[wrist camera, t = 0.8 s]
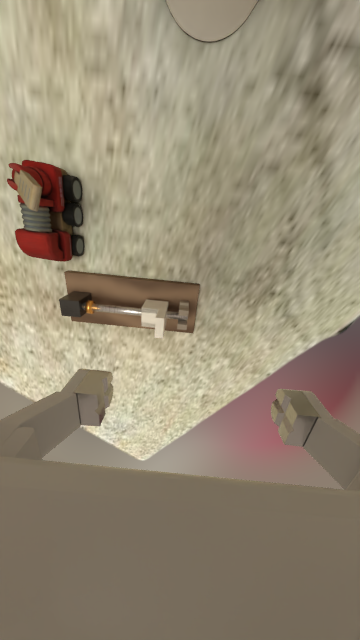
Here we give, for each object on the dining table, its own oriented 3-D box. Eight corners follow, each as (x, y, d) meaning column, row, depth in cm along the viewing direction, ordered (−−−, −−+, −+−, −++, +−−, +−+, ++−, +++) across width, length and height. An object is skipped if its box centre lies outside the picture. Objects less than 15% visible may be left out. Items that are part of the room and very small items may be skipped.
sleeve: (146, 299, 45) (136, 315, 37) (168, 301, 45) (164, 318, 37) (145, 316, 47) (136, 335, 39) (167, 318, 47) (162, 338, 39)
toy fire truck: (46, 251, 45) (-33, 266, 29) (37, 166, 38) (-72, 123, 22) (98, 261, 45) (48, 280, 29) (98, 178, 38) (33, 144, 22)
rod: (73, 291, 47) (59, 299, 41) (188, 302, 47) (188, 312, 41) (75, 305, 48) (61, 315, 43) (186, 316, 48) (186, 328, 43)
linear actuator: (68, 270, 46) (47, 278, 39) (199, 284, 46) (201, 294, 39) (74, 318, 51) (57, 332, 44) (192, 330, 51) (193, 346, 45)
